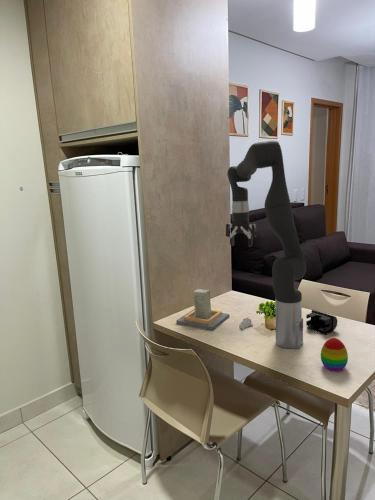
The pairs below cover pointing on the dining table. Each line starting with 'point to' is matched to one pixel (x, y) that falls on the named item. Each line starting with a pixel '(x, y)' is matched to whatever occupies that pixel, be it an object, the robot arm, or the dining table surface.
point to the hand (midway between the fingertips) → (241, 246)
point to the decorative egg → (334, 355)
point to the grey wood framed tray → (203, 320)
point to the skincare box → (202, 303)
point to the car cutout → (245, 323)
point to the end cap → (321, 322)
